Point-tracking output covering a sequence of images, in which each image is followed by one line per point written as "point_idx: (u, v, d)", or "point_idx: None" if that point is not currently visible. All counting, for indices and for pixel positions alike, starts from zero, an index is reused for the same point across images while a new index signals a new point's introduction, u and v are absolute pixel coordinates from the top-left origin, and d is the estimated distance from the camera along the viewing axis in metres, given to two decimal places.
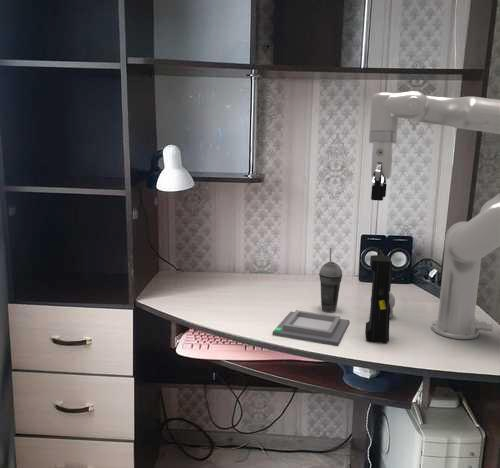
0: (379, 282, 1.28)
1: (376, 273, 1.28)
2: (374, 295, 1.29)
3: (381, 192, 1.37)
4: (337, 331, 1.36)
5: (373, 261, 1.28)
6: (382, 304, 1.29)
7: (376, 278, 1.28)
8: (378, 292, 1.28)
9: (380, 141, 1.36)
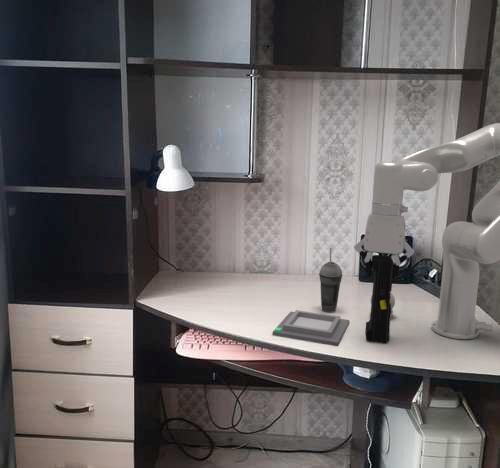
0: (380, 282, 1.28)
1: (377, 273, 1.28)
2: (375, 295, 1.29)
3: None
4: (337, 331, 1.36)
5: (375, 261, 1.28)
6: (383, 304, 1.29)
7: (377, 278, 1.28)
8: (379, 292, 1.28)
9: (401, 214, 1.26)
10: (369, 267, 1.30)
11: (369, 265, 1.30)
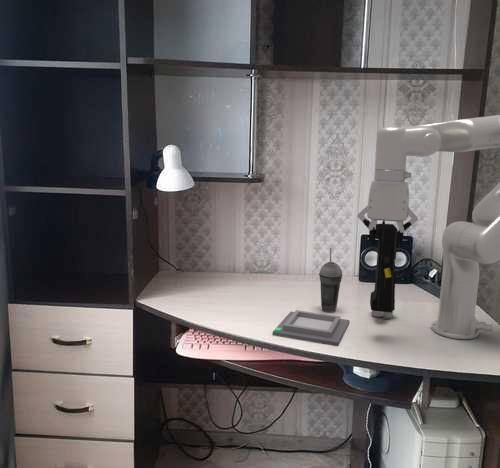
0: (384, 249, 1.26)
1: (381, 240, 1.27)
2: (379, 263, 1.28)
3: None
4: (337, 331, 1.36)
5: (378, 228, 1.26)
6: (388, 272, 1.28)
7: (381, 246, 1.27)
8: (383, 260, 1.27)
9: (404, 180, 1.25)
10: (373, 235, 1.29)
11: (373, 233, 1.29)
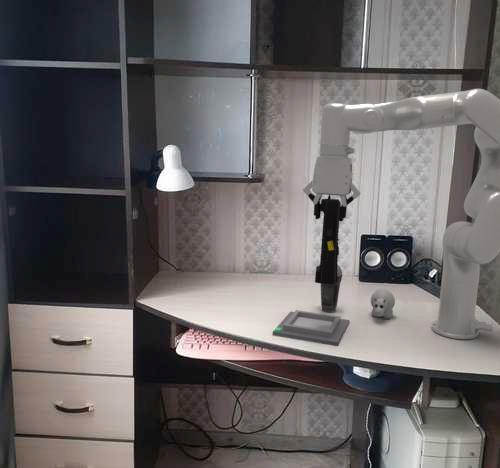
0: (327, 222, 1.30)
1: (325, 214, 1.30)
2: (323, 236, 1.32)
3: None
4: (337, 331, 1.36)
5: (322, 202, 1.30)
6: (331, 245, 1.32)
7: (325, 219, 1.31)
8: (326, 232, 1.30)
9: (347, 156, 1.29)
10: (317, 209, 1.32)
11: (317, 207, 1.32)
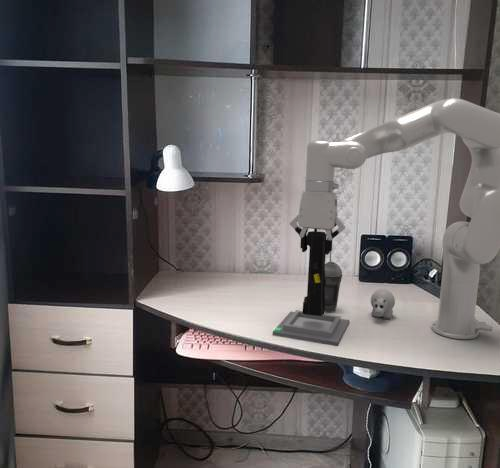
0: (313, 256, 1.33)
1: (311, 247, 1.33)
2: (309, 269, 1.34)
3: None
4: (337, 331, 1.36)
5: (308, 236, 1.33)
6: (317, 278, 1.35)
7: (311, 252, 1.34)
8: (312, 266, 1.33)
9: (332, 191, 1.32)
10: (303, 242, 1.35)
11: (303, 240, 1.35)
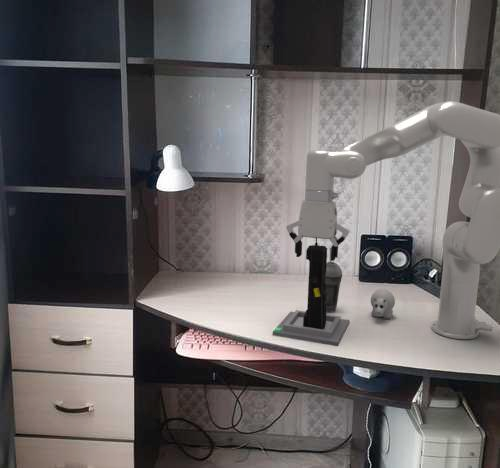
0: (313, 270, 1.34)
1: (310, 262, 1.34)
2: (309, 283, 1.35)
3: None
4: (337, 331, 1.36)
5: (307, 250, 1.34)
6: (317, 292, 1.35)
7: (310, 267, 1.34)
8: (312, 280, 1.34)
9: (332, 200, 1.32)
10: (298, 247, 1.36)
11: (298, 245, 1.36)
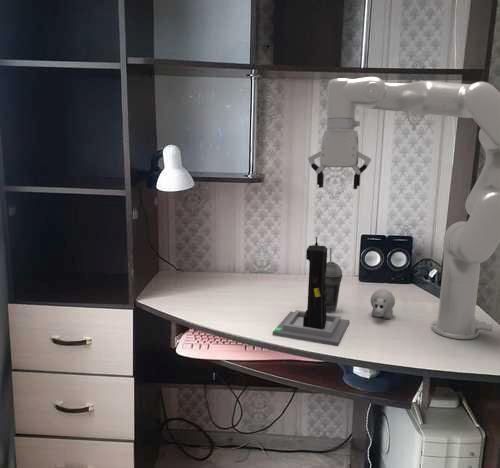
0: (313, 270, 1.34)
1: (310, 262, 1.34)
2: (309, 283, 1.35)
3: None
4: (337, 331, 1.36)
5: (307, 250, 1.34)
6: (317, 292, 1.35)
7: (310, 267, 1.34)
8: (312, 280, 1.34)
9: (353, 129, 1.34)
10: (320, 178, 1.38)
11: (320, 176, 1.38)
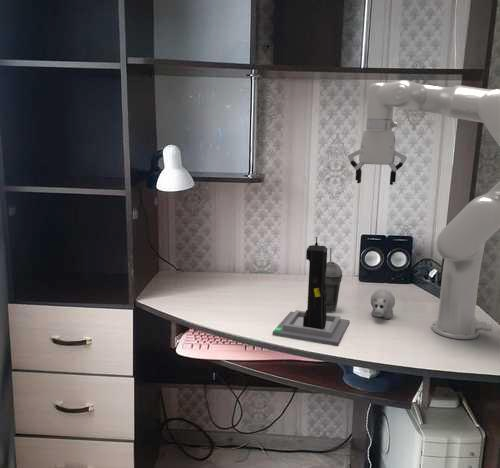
0: (313, 270, 1.34)
1: (310, 262, 1.34)
2: (309, 283, 1.35)
3: None
4: (337, 331, 1.36)
5: (307, 250, 1.34)
6: (317, 292, 1.35)
7: (310, 267, 1.34)
8: (312, 280, 1.34)
9: (391, 129, 1.46)
10: (359, 174, 1.50)
11: (359, 172, 1.50)
